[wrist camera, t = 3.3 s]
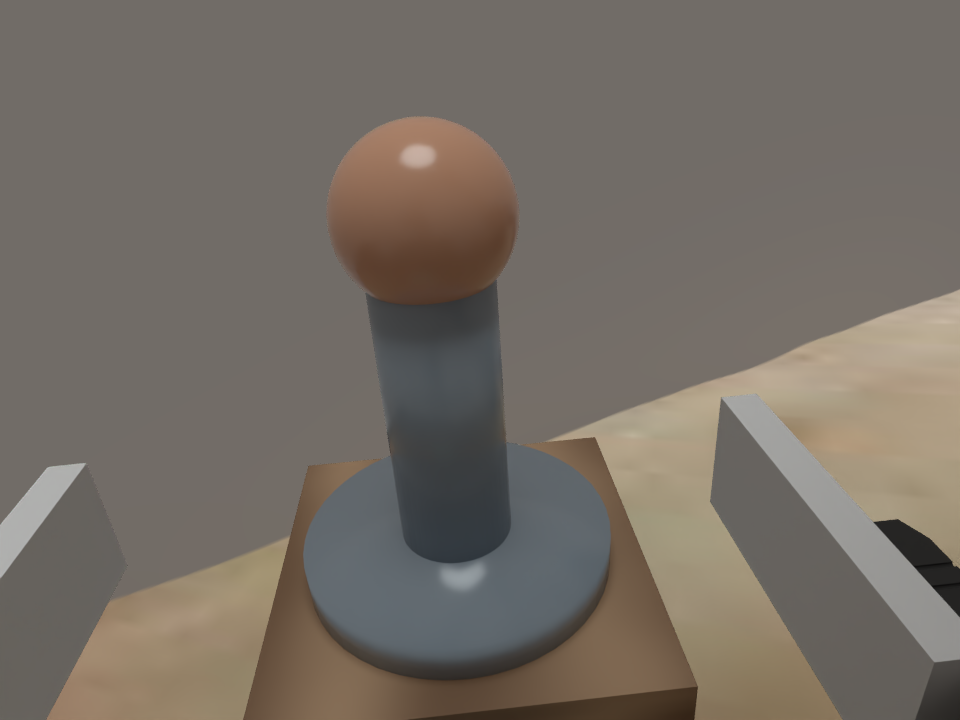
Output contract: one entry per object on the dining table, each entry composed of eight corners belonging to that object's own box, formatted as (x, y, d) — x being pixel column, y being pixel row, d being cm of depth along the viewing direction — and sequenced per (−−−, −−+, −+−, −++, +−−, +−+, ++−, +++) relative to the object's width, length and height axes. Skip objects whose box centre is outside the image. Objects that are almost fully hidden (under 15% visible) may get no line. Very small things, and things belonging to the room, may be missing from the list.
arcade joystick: (576, 453, 28) (574, 84, 21) (648, 659, 19) (682, 130, 12) (329, 478, 27) (253, 109, 21) (284, 700, 18) (129, 176, 12)
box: (595, 561, 32) (596, 435, 29) (684, 841, 21) (702, 689, 18) (334, 589, 31) (306, 464, 28) (287, 890, 21) (233, 742, 17)
